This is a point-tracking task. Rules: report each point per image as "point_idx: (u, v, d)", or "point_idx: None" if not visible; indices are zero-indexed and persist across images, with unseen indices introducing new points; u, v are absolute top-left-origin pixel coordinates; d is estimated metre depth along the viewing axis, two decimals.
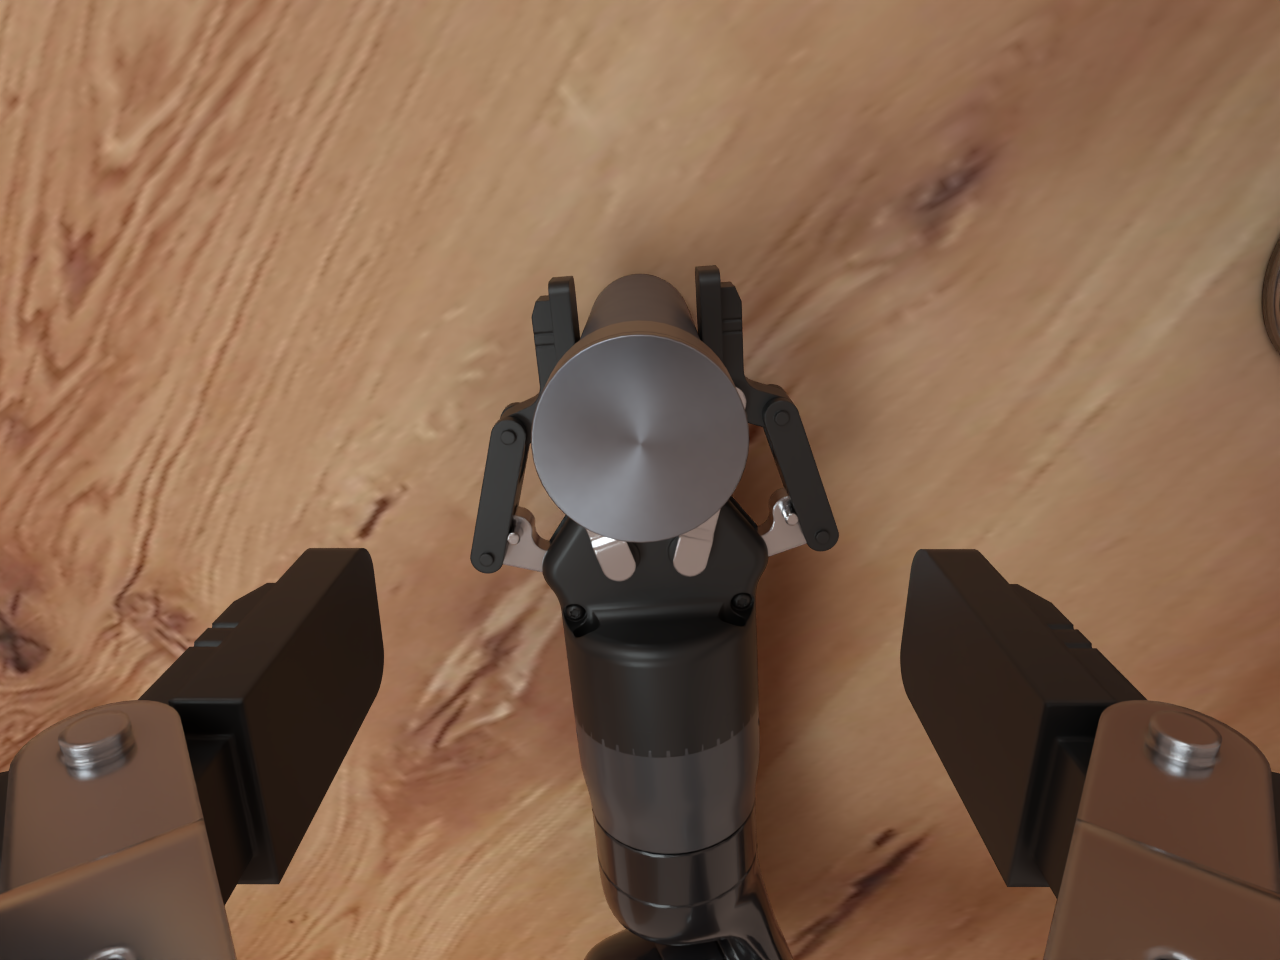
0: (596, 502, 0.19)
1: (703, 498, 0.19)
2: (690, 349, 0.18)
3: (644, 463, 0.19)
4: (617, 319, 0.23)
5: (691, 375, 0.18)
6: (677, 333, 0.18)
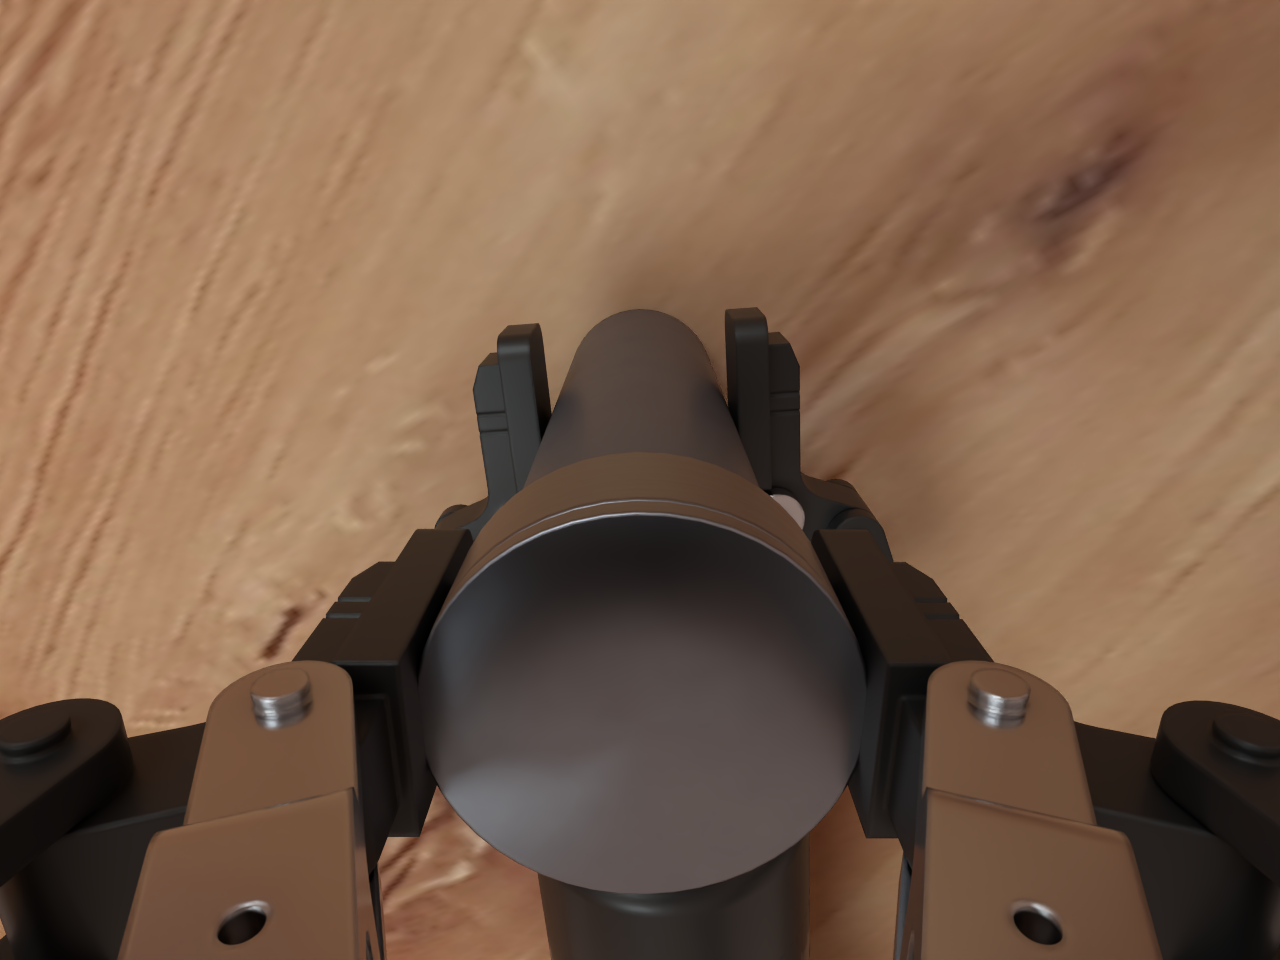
0: (553, 826, 0.09)
1: (770, 819, 0.09)
2: (751, 541, 0.08)
3: (651, 759, 0.09)
4: (602, 418, 0.13)
5: (752, 593, 0.08)
6: (719, 491, 0.09)
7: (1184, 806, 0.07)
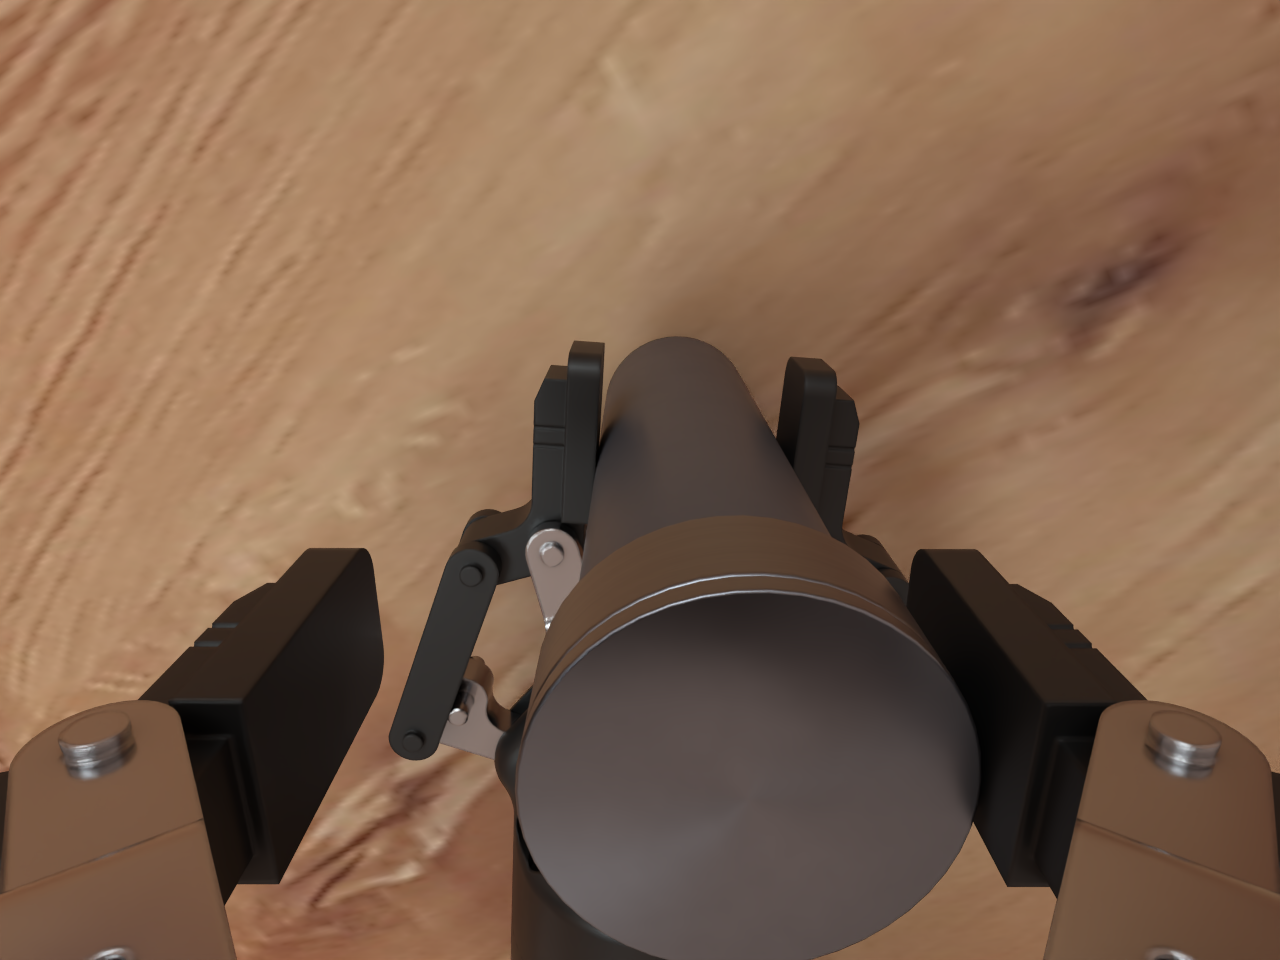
0: (816, 909, 0.09)
1: (930, 740, 0.08)
2: (610, 638, 0.08)
3: (793, 808, 0.09)
4: (690, 457, 0.13)
5: (663, 659, 0.08)
6: (587, 606, 0.09)
7: None
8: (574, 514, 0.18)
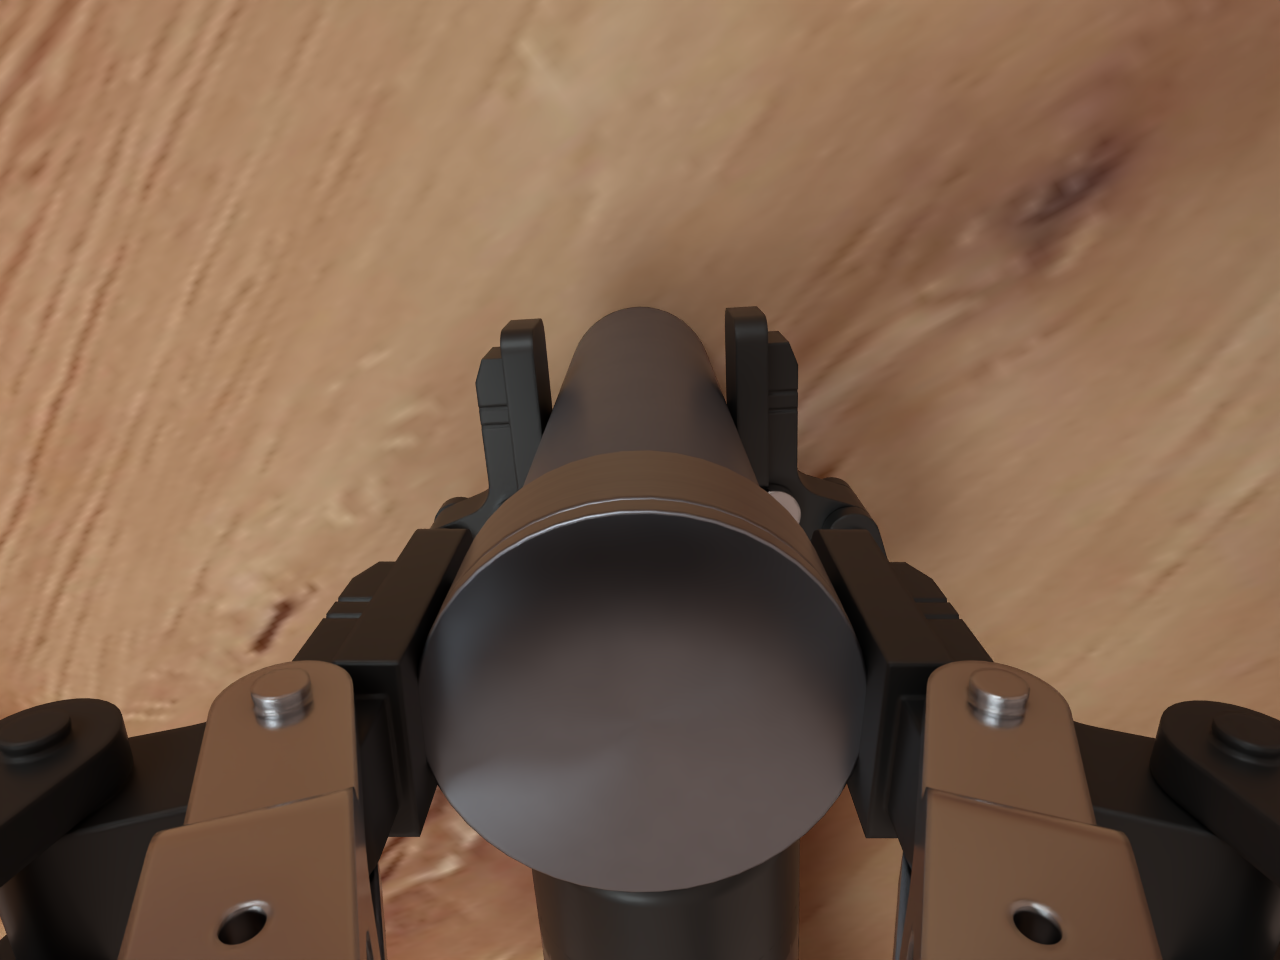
0: (731, 824, 0.09)
1: (807, 643, 0.09)
2: (478, 577, 0.08)
3: (687, 725, 0.09)
4: (604, 411, 0.13)
5: (531, 592, 0.08)
6: (471, 553, 0.09)
7: (1184, 807, 0.07)
8: None
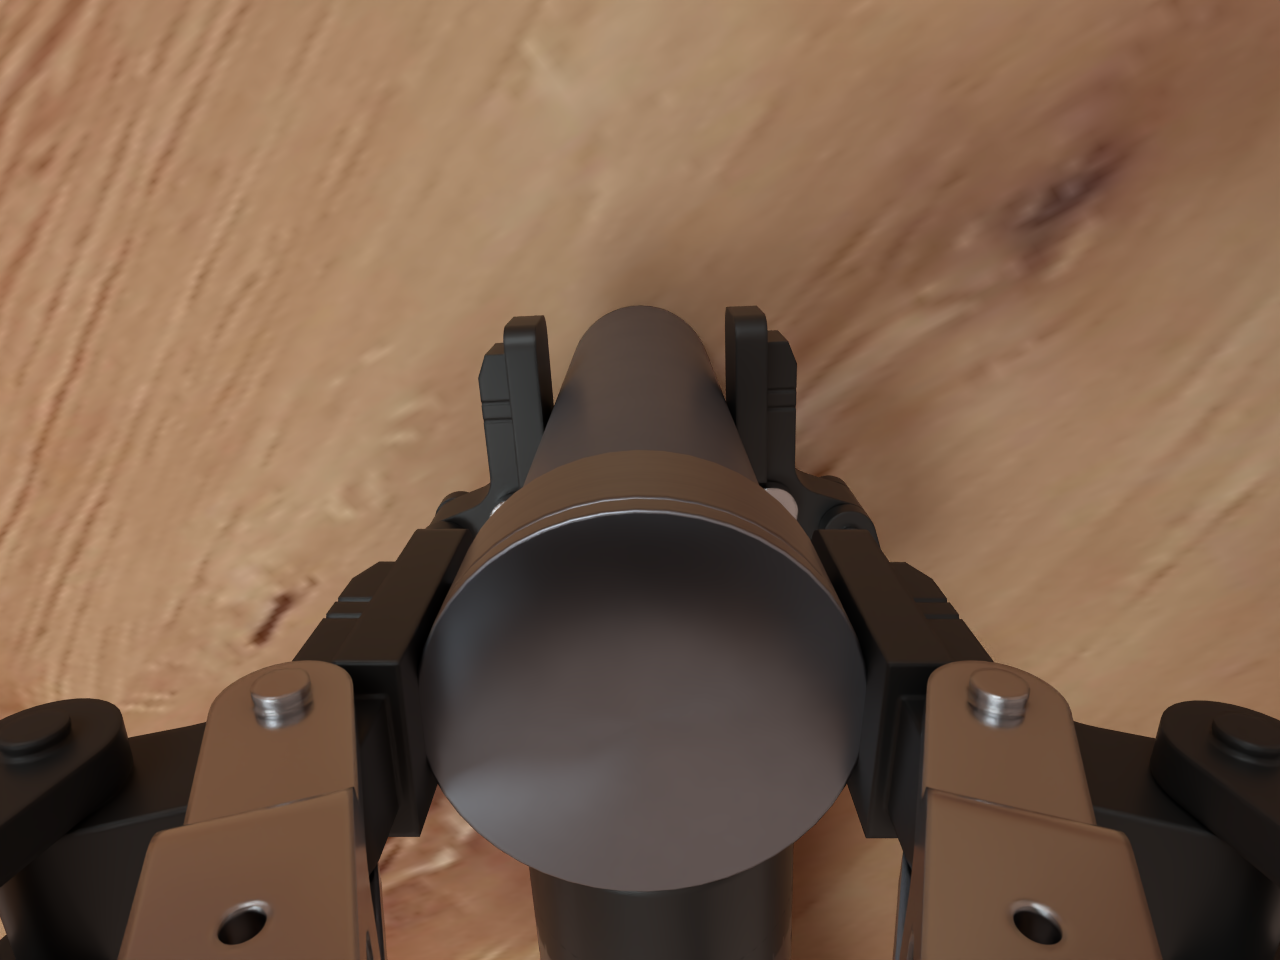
0: (799, 679, 0.09)
1: (606, 557, 0.08)
2: (451, 794, 0.09)
3: (663, 685, 0.09)
4: (606, 407, 0.13)
5: (476, 762, 0.09)
6: None
7: (1184, 806, 0.07)
8: None
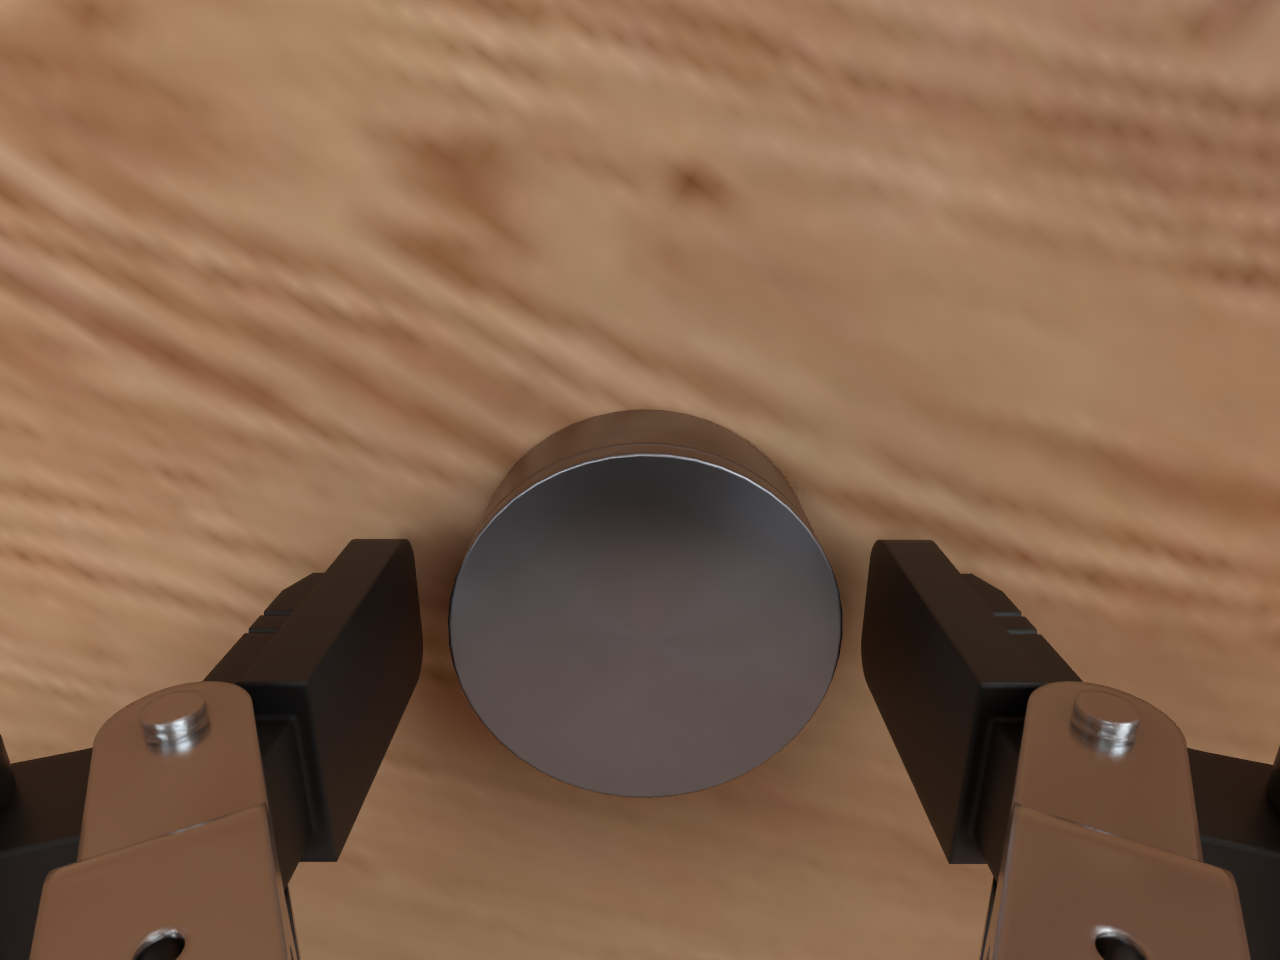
0: (781, 603, 0.10)
1: (614, 495, 0.10)
2: (478, 708, 0.11)
3: (662, 609, 0.10)
4: None
5: (500, 679, 0.10)
6: None
7: None
8: None
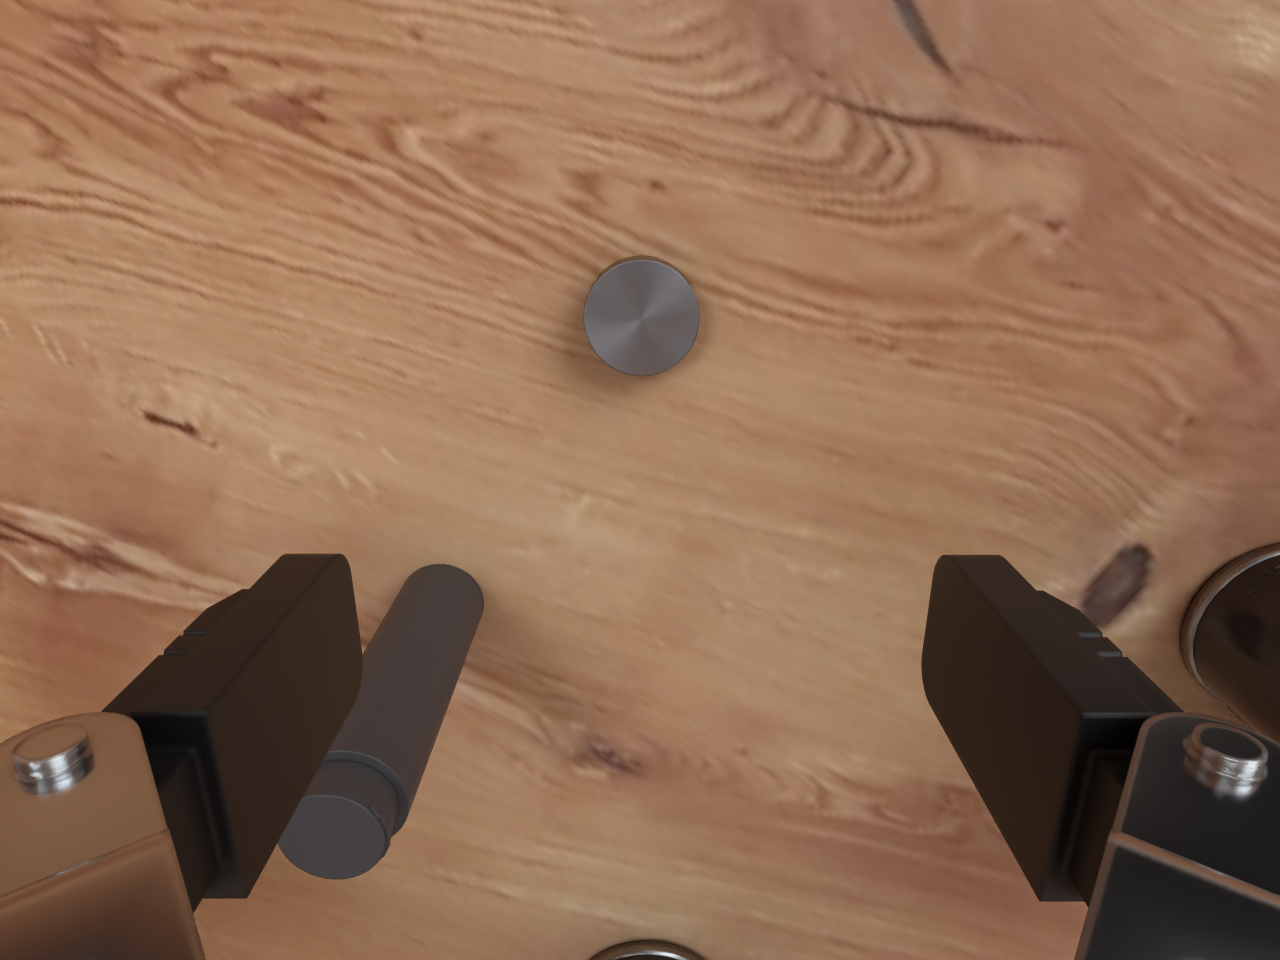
0: (681, 306, 0.35)
1: (632, 272, 0.34)
2: (591, 343, 0.35)
3: (646, 308, 0.35)
4: (417, 720, 0.30)
5: (598, 332, 0.35)
6: None
7: None
8: None
